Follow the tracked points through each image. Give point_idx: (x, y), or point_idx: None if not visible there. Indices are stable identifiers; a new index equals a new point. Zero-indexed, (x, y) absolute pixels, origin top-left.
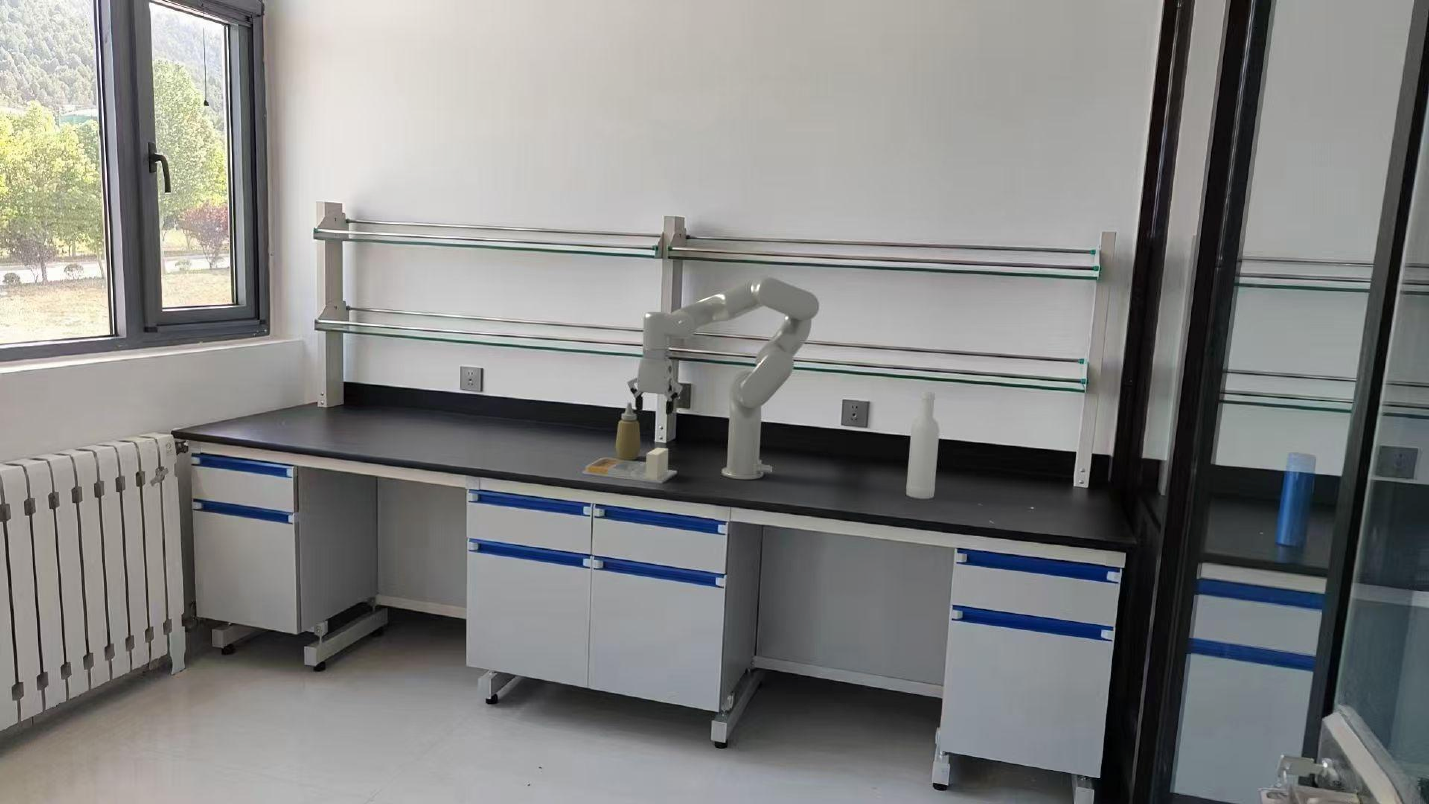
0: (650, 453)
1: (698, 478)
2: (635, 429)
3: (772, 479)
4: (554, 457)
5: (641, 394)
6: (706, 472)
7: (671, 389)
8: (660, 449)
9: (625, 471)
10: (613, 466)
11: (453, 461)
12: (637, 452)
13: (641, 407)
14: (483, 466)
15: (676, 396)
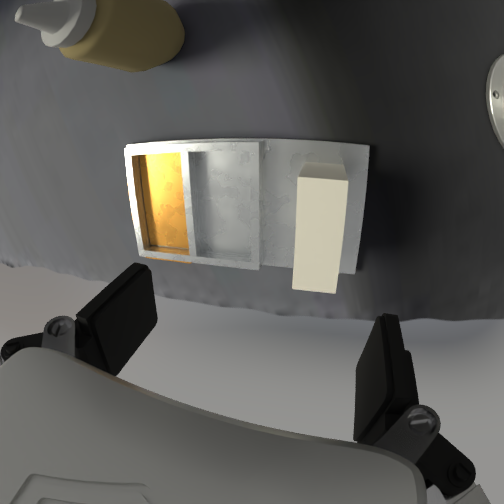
0: (304, 283)
1: (440, 182)
2: (126, 30)
3: None
4: (45, 142)
5: (79, 350)
6: (446, 100)
7: (403, 475)
8: (321, 206)
9: (243, 267)
10: (193, 233)
11: (3, 245)
12: (180, 35)
13: (143, 293)
14: (29, 256)
15: (446, 456)
